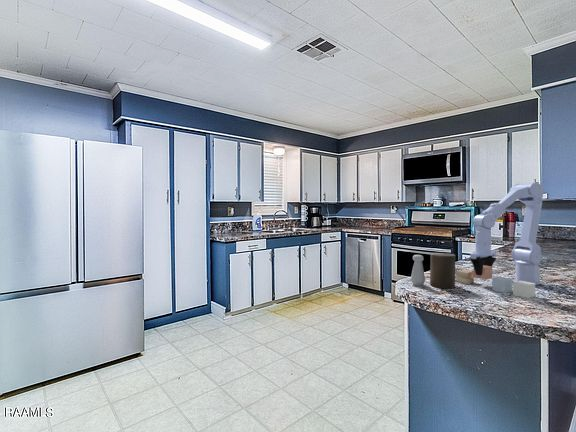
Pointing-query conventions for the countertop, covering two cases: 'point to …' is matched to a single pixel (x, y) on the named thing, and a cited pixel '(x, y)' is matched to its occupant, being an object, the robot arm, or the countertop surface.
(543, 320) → the countertop surface
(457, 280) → the maple block
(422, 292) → the countertop surface
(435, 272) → the pillar candle
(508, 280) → the blue-grey block
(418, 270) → the salt shaker
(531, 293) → the cream block
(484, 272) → the terracotta block
